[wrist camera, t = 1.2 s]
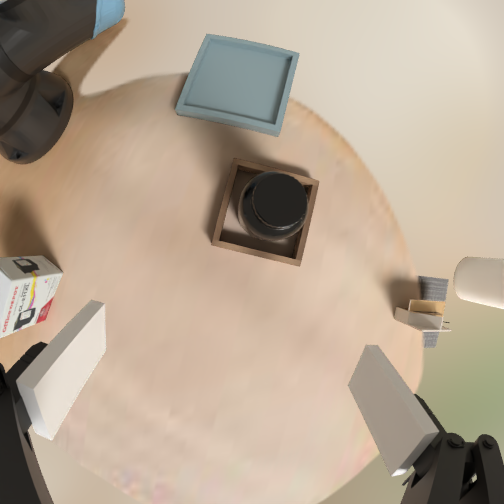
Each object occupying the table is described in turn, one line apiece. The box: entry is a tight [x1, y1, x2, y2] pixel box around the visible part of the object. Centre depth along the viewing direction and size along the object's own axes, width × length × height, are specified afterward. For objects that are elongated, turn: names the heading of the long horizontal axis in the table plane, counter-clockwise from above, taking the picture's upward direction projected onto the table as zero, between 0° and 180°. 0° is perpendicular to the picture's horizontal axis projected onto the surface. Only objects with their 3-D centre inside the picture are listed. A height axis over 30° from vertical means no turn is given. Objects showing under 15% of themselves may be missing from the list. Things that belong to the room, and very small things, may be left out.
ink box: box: [0, 255, 63, 338], centre depth 29 cm, size 9×5×12 cm, turn 149°
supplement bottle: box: [238, 171, 309, 241], centre depth 31 cm, size 7×7×12 cm
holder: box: [211, 158, 319, 267], centre depth 36 cm, size 11×11×2 cm
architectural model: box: [394, 299, 451, 333], centre depth 35 cm, size 3×7×8 cm, turn 83°
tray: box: [175, 34, 299, 137], centre depth 35 cm, size 14×14×2 cm
